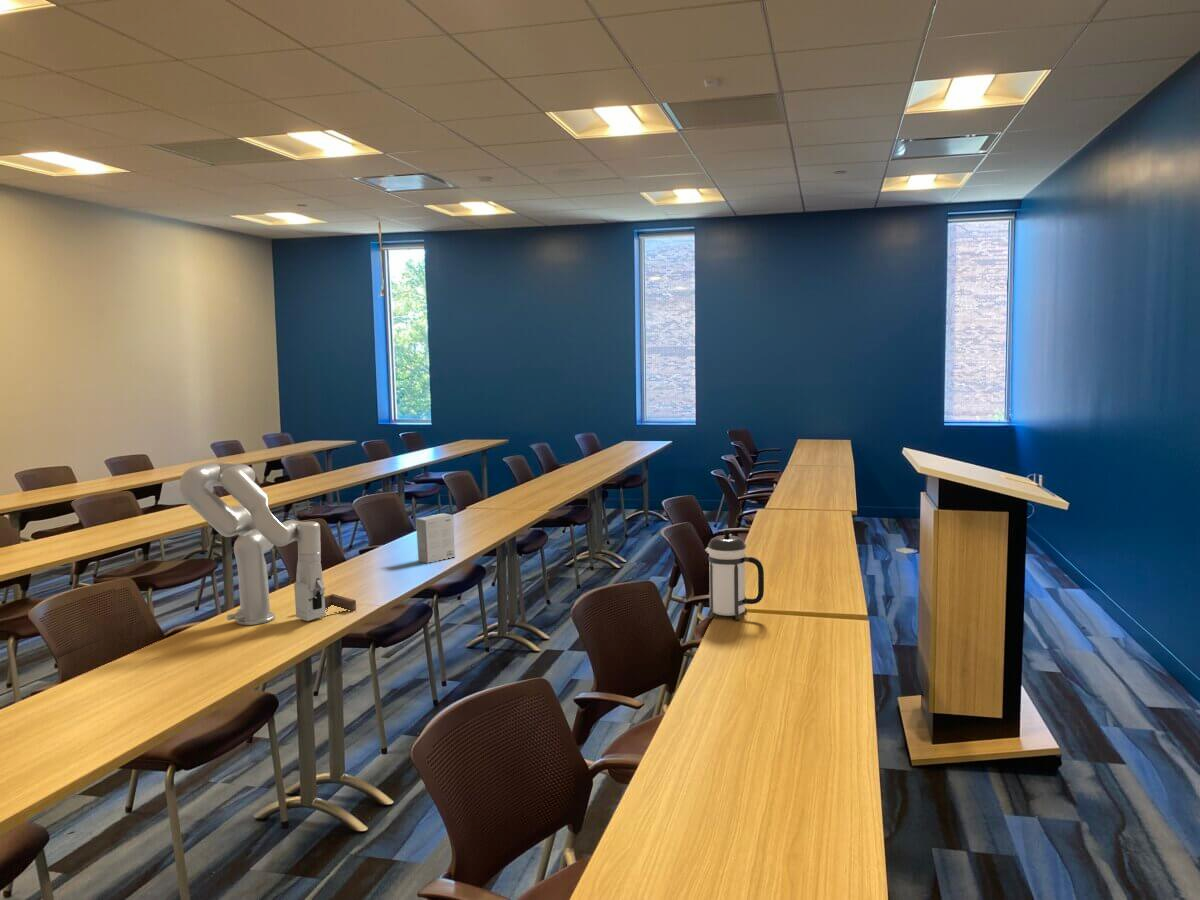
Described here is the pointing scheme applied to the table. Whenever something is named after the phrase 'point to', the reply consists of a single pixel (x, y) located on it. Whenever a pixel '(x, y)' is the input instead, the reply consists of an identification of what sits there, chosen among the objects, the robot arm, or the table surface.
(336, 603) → the arena
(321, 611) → the supplement box
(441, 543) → the hard drive box
